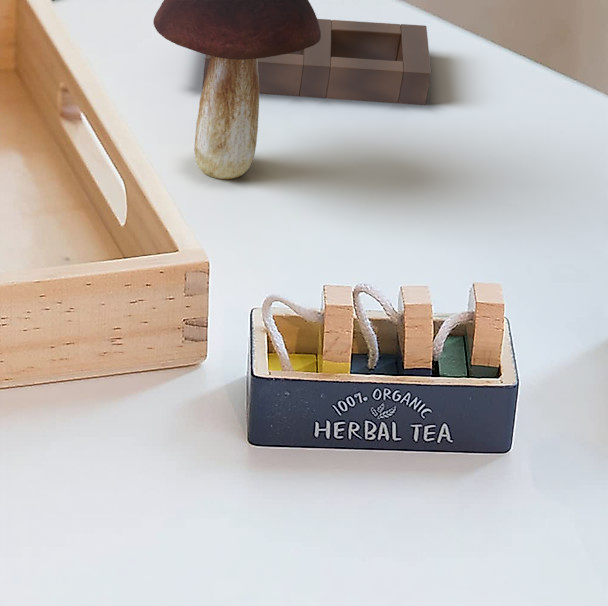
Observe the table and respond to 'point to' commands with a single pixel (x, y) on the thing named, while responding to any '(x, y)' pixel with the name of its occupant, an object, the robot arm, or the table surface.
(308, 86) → the rack
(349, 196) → the table surface
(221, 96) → the decorative mushroom
